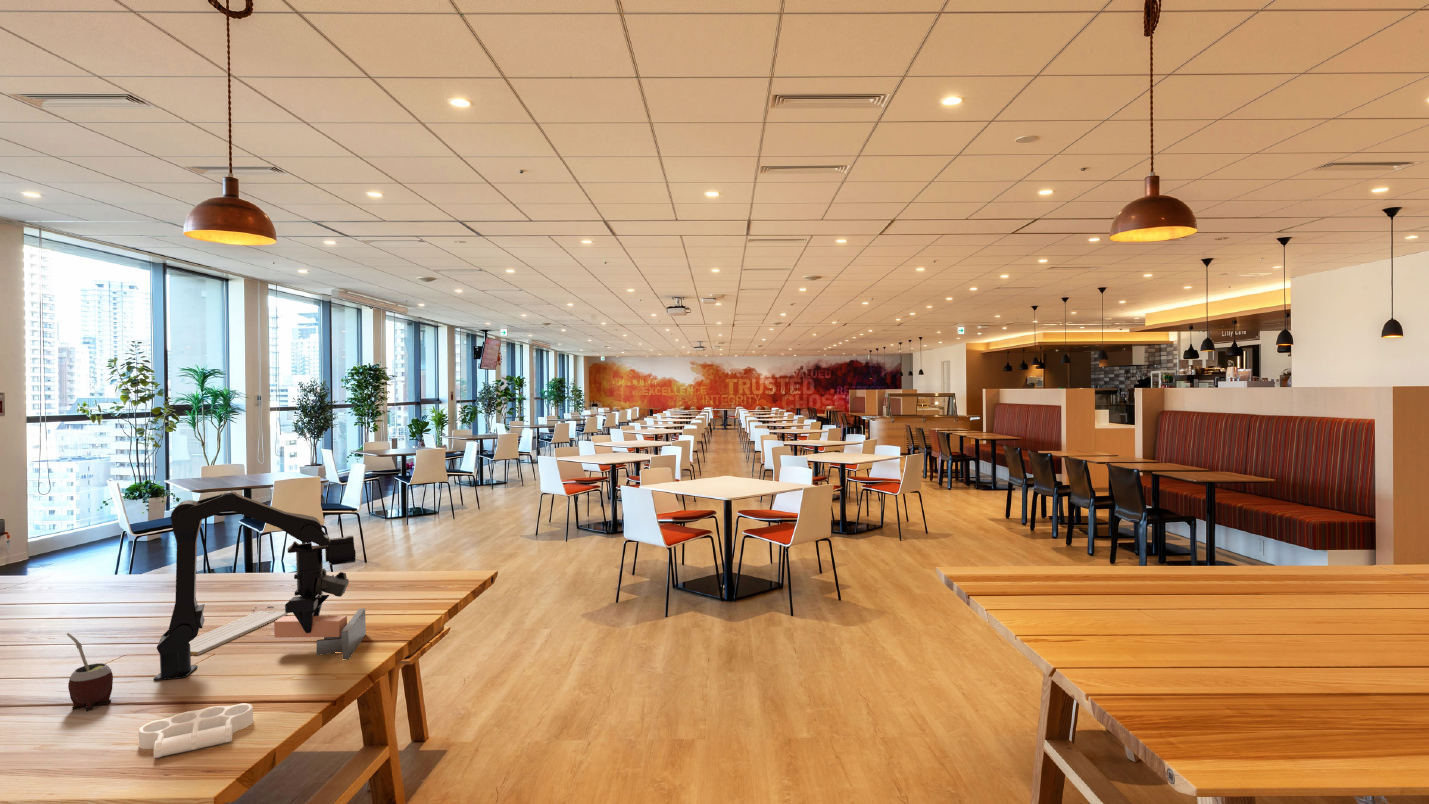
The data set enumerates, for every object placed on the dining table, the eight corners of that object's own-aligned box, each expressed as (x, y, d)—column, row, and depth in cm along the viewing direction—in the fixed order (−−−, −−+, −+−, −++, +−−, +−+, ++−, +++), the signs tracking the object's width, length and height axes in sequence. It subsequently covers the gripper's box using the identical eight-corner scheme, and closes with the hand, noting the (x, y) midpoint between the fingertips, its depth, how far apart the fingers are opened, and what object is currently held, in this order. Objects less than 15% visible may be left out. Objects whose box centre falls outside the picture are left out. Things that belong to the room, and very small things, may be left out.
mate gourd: (109, 708, 152) (106, 636, 152) (59, 717, 148) (56, 644, 148) (117, 694, 159) (114, 626, 158) (69, 703, 155) (66, 632, 154)
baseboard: (155, 655, 183) (198, 657, 181) (155, 643, 183) (197, 646, 181) (250, 615, 213) (288, 617, 212) (250, 605, 213) (287, 607, 212)
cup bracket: (349, 659, 177) (348, 631, 177) (310, 663, 175) (309, 634, 175) (365, 634, 195) (365, 608, 194) (330, 637, 193) (330, 611, 192)
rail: (274, 637, 181) (274, 621, 181) (283, 631, 185) (283, 616, 185) (339, 636, 181) (339, 620, 181) (347, 631, 185) (346, 615, 185)
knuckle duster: (131, 768, 129) (144, 734, 141) (252, 741, 138) (254, 711, 151) (130, 749, 129) (143, 717, 141) (251, 724, 138) (253, 695, 151)
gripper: (335, 575, 176) (336, 639, 176) (353, 556, 194) (355, 615, 194) (283, 578, 173) (285, 643, 173) (307, 559, 191) (308, 618, 191)
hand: (311, 629), depth 183 cm, fingers closed on rail, 4 cm apart
